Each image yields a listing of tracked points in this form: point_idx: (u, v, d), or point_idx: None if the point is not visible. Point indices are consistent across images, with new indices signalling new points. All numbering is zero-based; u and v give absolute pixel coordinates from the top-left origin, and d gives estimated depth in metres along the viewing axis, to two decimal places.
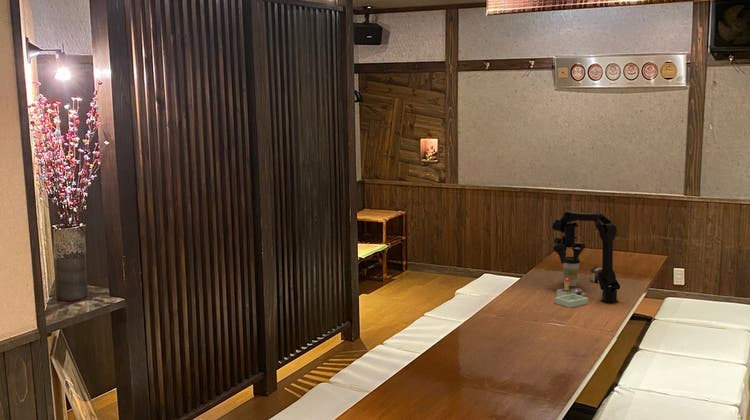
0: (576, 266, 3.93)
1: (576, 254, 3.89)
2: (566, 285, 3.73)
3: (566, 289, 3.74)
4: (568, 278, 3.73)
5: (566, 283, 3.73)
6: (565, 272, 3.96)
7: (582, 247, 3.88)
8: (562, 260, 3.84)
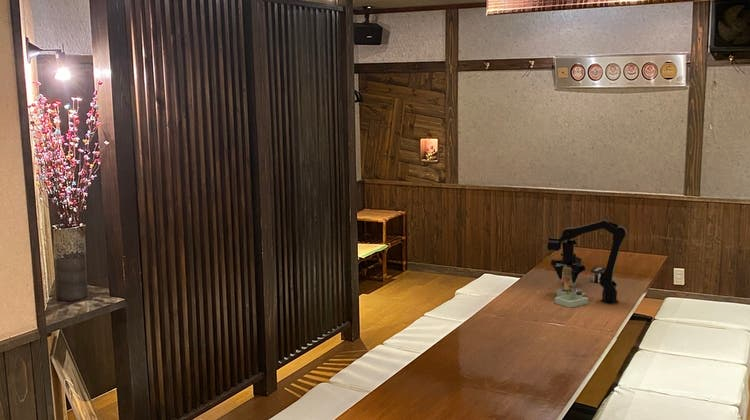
0: None
1: None
2: (566, 285, 3.73)
3: (566, 289, 3.74)
4: (568, 278, 3.73)
5: (566, 283, 3.73)
6: (565, 272, 3.96)
7: (573, 269, 3.65)
8: None
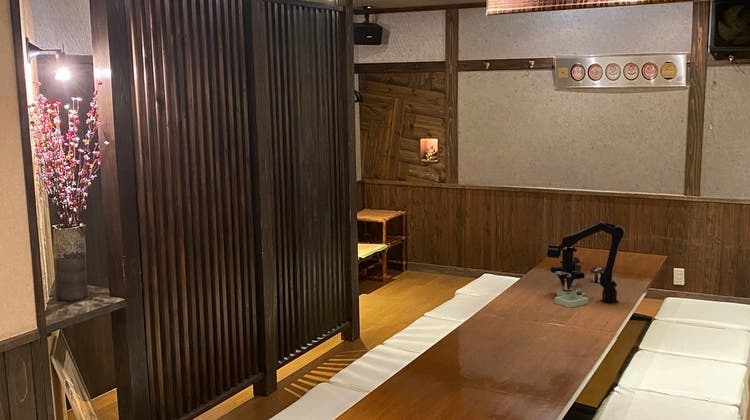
0: None
1: None
2: (566, 285, 3.73)
3: (566, 289, 3.74)
4: None
5: (566, 283, 3.73)
6: None
7: (572, 276, 3.66)
8: None
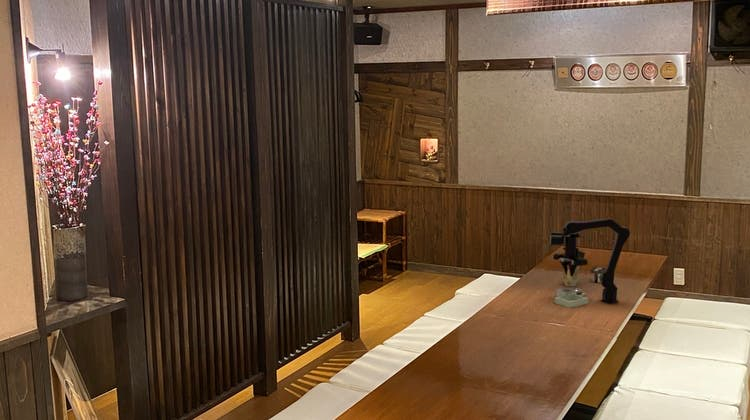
0: None
1: None
2: (569, 272, 3.66)
3: (569, 276, 3.66)
4: None
5: (569, 270, 3.66)
6: None
7: (575, 263, 3.59)
8: None
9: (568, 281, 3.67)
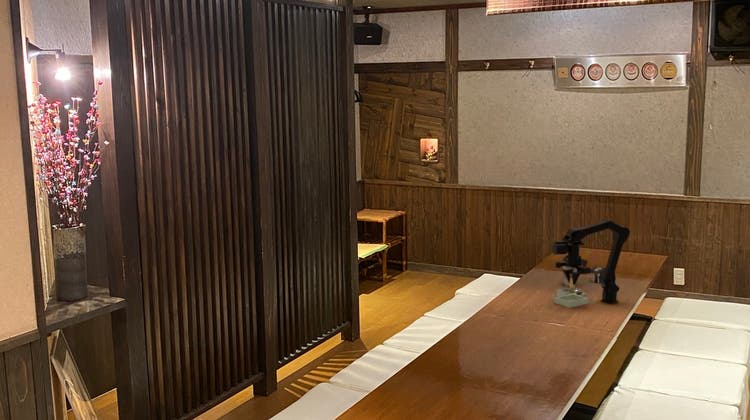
0: None
1: None
2: (572, 280, 3.60)
3: (572, 285, 3.61)
4: None
5: None
6: None
7: (578, 271, 3.53)
8: None
9: (571, 290, 3.61)
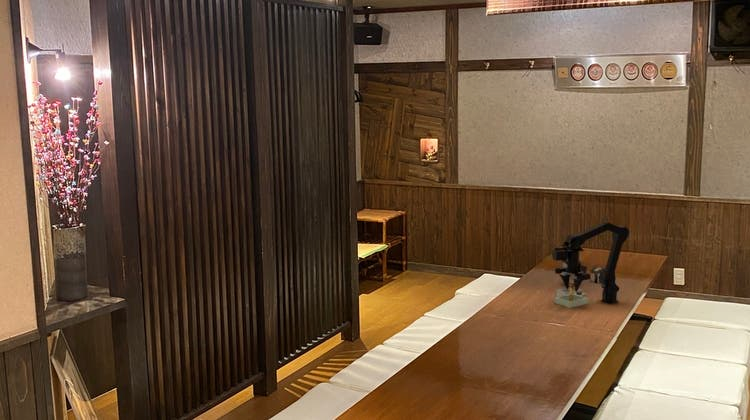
0: None
1: None
2: (571, 290, 3.61)
3: (571, 295, 3.61)
4: (573, 283, 3.61)
5: (571, 288, 3.61)
6: None
7: (578, 277, 3.54)
8: None
9: (570, 299, 3.62)
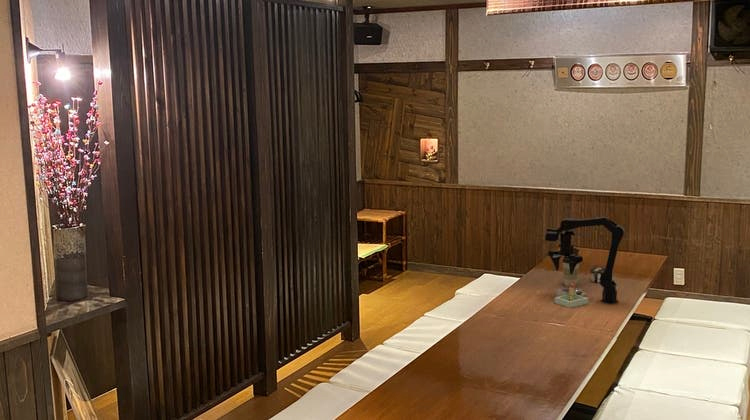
0: (576, 266, 3.93)
1: None
2: (571, 290, 3.61)
3: (571, 294, 3.61)
4: (573, 283, 3.61)
5: (571, 288, 3.61)
6: (565, 272, 3.96)
7: (571, 260, 3.64)
8: None
9: (570, 299, 3.62)
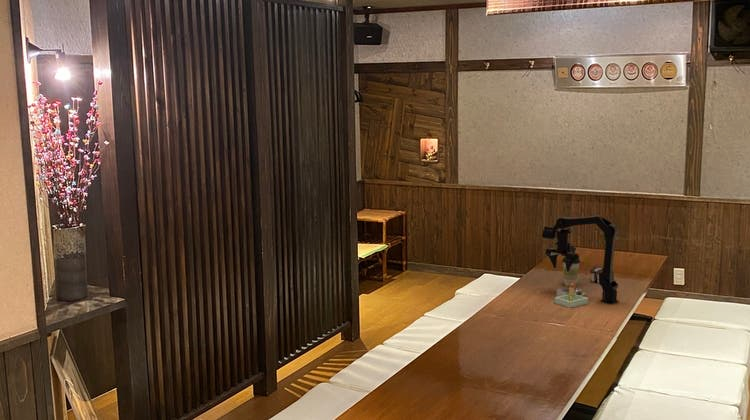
0: (576, 266, 3.93)
1: None
2: (571, 290, 3.61)
3: (571, 295, 3.61)
4: (573, 283, 3.61)
5: (571, 288, 3.61)
6: (565, 272, 3.96)
7: (567, 257, 3.71)
8: None
9: (570, 299, 3.62)
